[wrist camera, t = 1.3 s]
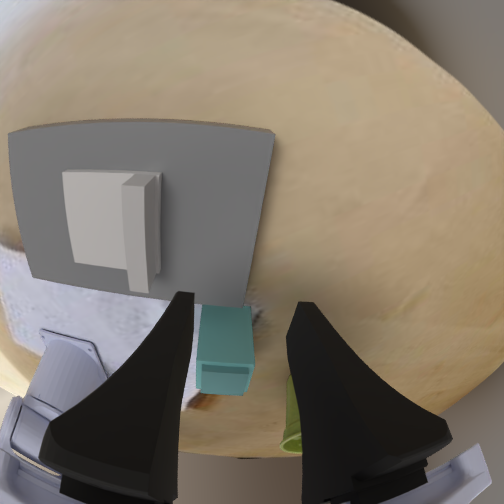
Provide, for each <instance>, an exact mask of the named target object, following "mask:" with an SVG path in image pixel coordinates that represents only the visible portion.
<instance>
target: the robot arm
mask: <svg viewBox="0 0 504 504" xmlns="http://www.w3.org/2000/svg"><path fill="white" fill-rule="evenodd" d="M194 300H195V293H192V292H183V291H178V292H176V293H175V295H174V297H173V299H172V301H171V302H170V304H169V306H168V307H167V309H166V310H165V312H164V313H163V315H162V316H161V318H160V319H159V321H158V322H157V324H156V325H155V326H154V328H153V329H152V331H151V332H150V333H149V334H148V336H147V337H146V338H145V339H144V341H143V342H142V343H141V344H140V346H139V347H138V348H137V349H136V350H135V352H134V353H133V354H132V355H131V356H130V357H129V358H128V359H127V360H126V361H125V363H124V364H123V365H122V366H121V367H120V368H119V369H118V370H117V371H116V372H115V373H113V374H112V375H111V376H110V377H109V378H107V376H106V374H105V372H104V369H103V367H102V365H101V362H100V360H99V358H98V355H97V353H96V350H95V348H94V346H93V344H92V343H90V342H86V341H82V340H78V339H74V338H70V337H66V336H63V335H59V334H55V333H52V332H49V331H45V330H42V329H40V330H39V334H40V336H41V338H42V340H43V342H44V344H45V346H46V350H45V352H44V354H43V356H42V359H41V361H40V363H39V365H38V367H37V369H36V372H35V374H34V376H33V378H32V381H31V383H30V385H29V388H28V390H27V393H26V395H25V397H24V398H23V399H22V398H21V397H20V396H17V397H13V398H12V400H11V402H10V404H9V406H8V409H7V412H6V414H5V417H4V420H3V423H2V426H1V429H0V504H173V500H175V499H176V498H178V492H177V491H178V490H177V476H178V475H177V474H178V473H177V471H178V442H179V425H180V411H181V404H182V398H183V393H184V388H185V383H186V378H187V373H188V368H189V363H190V358H191V352H192V342H193V332H194ZM286 343H287V355H288V362H289V367H290V372H291V377H292V381H293V386H294V390H295V395H296V399H297V404H298V410H299V416H300V427H301V440H302V465H303V467H302V469H303V475H302V476H303V477H302V504H327V503H331V504H469V503H470V502H471V501H472V500H473V499H474V498H475V497H476V496H477V495H478V494H480V493H481V492H482V491H483V490H484V489H485V488H487V487H488V486H489V485H490V484H491V483H492V481H491V477H490V474H489V471H488V468H487V465H486V462H485V459H484V456H483V453H482V451H481V448H480V445H479V444H478V443H477V444H475V445H474V446H472V447H470V448H469V449H467V450H466V451H464V452H462V453H461V454H459V455H458V456H456V457H454V458H453V459H451V460H450V461H448V462H446V463H444V464H443V465H441V466H439V467H437V468H435V469H433V470H431V471H429V472H427V473H425V471H424V467H426V466H427V465H428V463H427V460H426V458H427V457H429V456H431V455H432V454H434V453H436V452H437V451H439V450H440V449H442V448H444V447H445V446H446V445H448V444H449V443H450V442H451V441H452V439H453V438H452V435H451V433H450V430H449V428H448V425H447V423H446V420H444V419H442V418H440V417H438V416H437V415H435V414H433V413H431V412H429V411H427V410H425V409H423V408H421V407H420V406H418V405H417V404H415V403H413V402H412V401H410V400H409V399H407V398H406V397H404V396H403V395H402V394H400V393H399V392H398V391H396V390H395V389H394V388H392V387H391V386H390V385H388V384H387V383H386V382H385V381H384V380H382V379H381V378H380V377H379V376H378V375H377V374H376V373H375V372H374V371H372V370H371V369H370V368H369V367H368V366H367V365H366V364H365V363H364V362H363V361H362V360H361V359H360V358H359V357H358V355H357V354H356V353H355V352H354V351H353V350H352V349H351V348H350V347H349V346H348V344H347V343H346V342H345V341H344V340H343V339H342V337H341V336H340V335H339V334H338V333H337V331H336V330H335V329H334V328H333V326H332V325H331V324H330V323H329V321H328V320H327V319H326V317H325V316H324V315H323V314H322V312H321V311H320V310H319V309H318V307H317V306H316V305H315V304H314V302H298V305H297V308H296V311H295V313H294V316H293V319H292V322H291V325H290V327H289V330H288V333H287V335H286ZM11 448H12V449H14V450H16V451H17V452H19V453H20V454H22V455H24V456H26V457H27V458H29V459H31V460H33V461H34V462H36V463H38V464H40V465H42V466H44V467H46V468H48V469H50V470H52V471H54V472H56V473H58V474H60V476H56V475H52V474H50V473H48V472H46V471H44V470H42V469H40V468H38V467H37V466H35V465H33V464H31V463H29V462H27V461H26V460H24V459H22V458H21V457H19V456H17V455H16V454H15V453H14V452H13V451H12V449H11Z"/></svg>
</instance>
